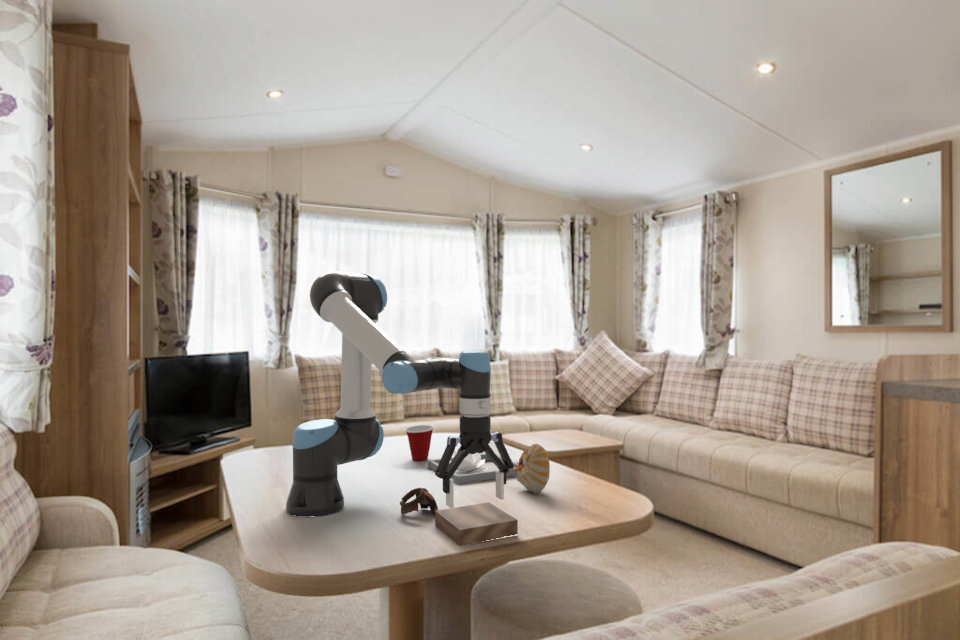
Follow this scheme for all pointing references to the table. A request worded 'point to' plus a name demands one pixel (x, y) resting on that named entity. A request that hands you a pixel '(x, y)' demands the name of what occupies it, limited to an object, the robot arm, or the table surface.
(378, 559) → the table surface
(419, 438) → the plastic cup
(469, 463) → the lotus flower
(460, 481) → the slate frame
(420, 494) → the broken clay pottery vessel
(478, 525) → the brown wooden square block
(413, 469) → the table surface
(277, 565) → the table surface
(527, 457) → the nautilus
